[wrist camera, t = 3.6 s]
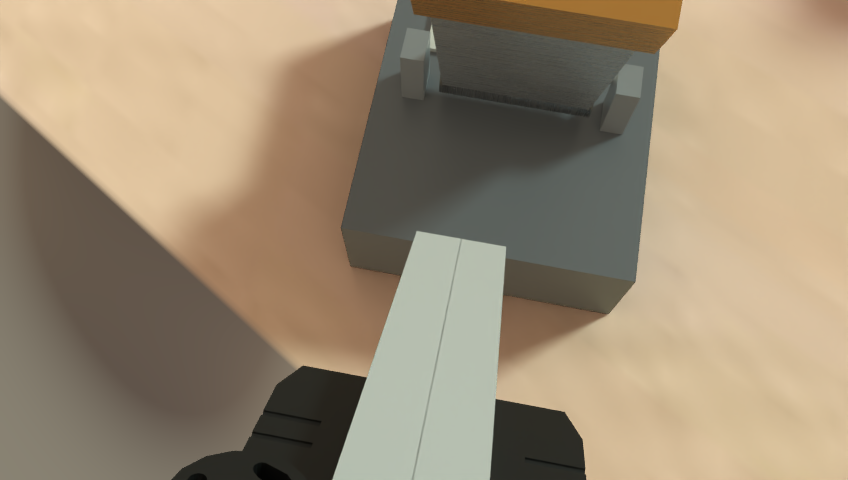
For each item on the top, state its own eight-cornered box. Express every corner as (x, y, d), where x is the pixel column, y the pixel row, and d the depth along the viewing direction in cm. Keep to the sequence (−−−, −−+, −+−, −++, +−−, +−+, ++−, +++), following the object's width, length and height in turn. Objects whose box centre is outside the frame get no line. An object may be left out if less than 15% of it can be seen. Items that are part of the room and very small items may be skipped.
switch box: (608, 314, 30) (656, 256, 24) (350, 266, 31) (333, 197, 25) (639, 49, 34) (686, -57, 28) (411, 12, 35) (409, -100, 29)
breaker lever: (590, 125, 28) (677, 29, 16) (434, 98, 28) (406, -16, 16) (600, 69, 28) (694, -68, 16) (444, 43, 28) (424, -110, 16)
